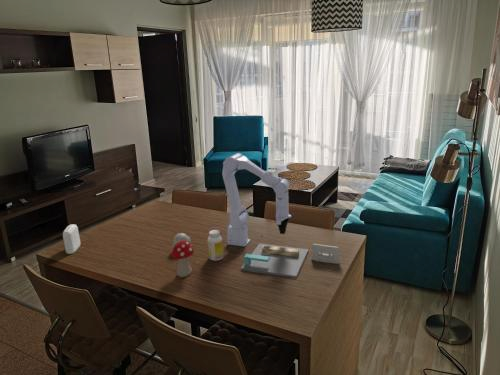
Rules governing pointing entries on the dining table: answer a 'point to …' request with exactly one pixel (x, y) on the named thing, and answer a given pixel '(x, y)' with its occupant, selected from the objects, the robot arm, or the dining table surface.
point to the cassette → (325, 257)
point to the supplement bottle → (215, 245)
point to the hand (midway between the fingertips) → (282, 233)
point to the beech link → (280, 250)
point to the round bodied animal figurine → (181, 238)
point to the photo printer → (71, 238)
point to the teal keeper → (254, 258)
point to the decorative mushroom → (183, 257)
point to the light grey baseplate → (277, 263)
